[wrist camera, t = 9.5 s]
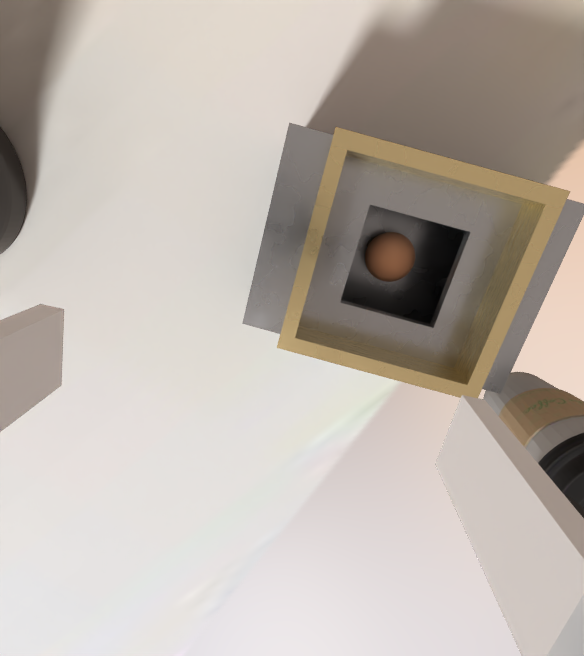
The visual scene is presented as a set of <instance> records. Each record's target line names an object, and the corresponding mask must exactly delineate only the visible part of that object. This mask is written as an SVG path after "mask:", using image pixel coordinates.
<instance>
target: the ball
mask: <svg viewBox="0 0 584 656" xmlns="http://www.w3.org/2000/svg"><path fill="white" fill-rule="evenodd" d="M414 262H415V250H414V247H413V245H412V243H411V242H410V240H409V239H408V238H407V237H405V236H404V235H402V234H400V233H396V232H386V233H383V234H380V235H378V236H377V237H375V238H374V239H373V240H372V241H371V242H370V243H369V245H368V247H367V249H366V252H365V263H366V267H367V269H368V270H369V272H370V273H371V274H372V275H373V276H374V277H375V278H377V279H379V280H381V281H385V282H392V281H397V280H399V279H402V278H403V277H405V276H406V275H407V274H408V273H409V272H410V271H411V269H412V267H413V265H414Z"/></svg>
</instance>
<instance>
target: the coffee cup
mask: <svg viewBox="0 0 584 656" xmlns="http://www.w3.org/2000/svg"><path fill="white" fill-rule="evenodd" d="M483 400H485V401H486V402H487V403H488V404H489V406H490V407H491V408H492V409H493V410H494V412H495V413H496V414H497V415H498V416H499V418H500V419H501V420H502V421H503V422H504V423H505V425H506V426H507V427H508V428H509V429H510V431H511V432H512V433H513V434H514V435H515V437H516V438H517V439H518V440H519V441H520V443H521V444H522V445H523V446H524V447H525V449H526V450H527V451H528V452H529V453H530V455H531V456H532V457H533V458H534V459H535V461H536V462H537V463H538V464H539V465H540V467H541V468H542V469H543V470H544V471H545V473H546V474H547V475H548V476H549V477H550V479H551V480H552V481H553V482H554V483H555V485H556V486H557V487H558V488H559V489H560V491H561V492H562V493H563V494H564V495H568V496H569V497H570V498H571V499H573V500H574V501H575V502H576V503H578V504H579V505H580V506H582V507H583V508H584V401H582V400H580V399H578V398H577V397H575V396H573V395H571V394H570V393H568V392H565V391H563V390H559V389H557V388H555V387H554V386H552V385H550V384H549V383H547V382H545V381H543V380H542V379H540V378H538V377H537V376H534V375H532V374H529V373H524V372H514V373H510V374H509V377H508V379H507V381H506V383H505V385H504V387H503V389H502V392H501V394H499V393H495V392H492V391H488V390H486V391H485V394H484V399H483Z"/></svg>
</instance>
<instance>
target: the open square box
mask: <svg viewBox="0 0 584 656" xmlns="http://www.w3.org/2000/svg"><path fill="white" fill-rule="evenodd" d="M569 193H570V191H567V190H563V189H560V188H556V187H552V186H549V185H545V184H542V183H538V182H534V181H531V180H527V179H523V178H520V177H516V176H512V175H509V174H505V173H502V172H498V171H494V170H491V169H487V168H483V167H480V166H476V165H473V164H469V163H465V162H462V161H458V160H454V159H451V158H447V157H443V156H440V155H436V154H433V153H429V152H425V151H422V150H418V149H414V148H411V147H407V146H403V145H400V144H396V143H393V142H389V141H385V140H382V139H378V138H374V137H371V136H367V135H364V134H360V133H356V132H353V131H349V130H345V129H342V128H338V127H335V131H334V135H332V134H329V133H325V132H321V131H318V130H314V129H310V128H307V127H303V126H300V125H296V124H292V123H289V127H288V131H287V135H286V140H285V144H284V148H283V153H282V157H281V161H280V165H279V170H278V174H277V178H276V182H275V187H274V191H273V195H272V200H271V204H270V208H269V212H268V217H267V221H266V225H265V229H264V234H263V238H262V242H261V247H260V251H259V255H258V259H257V264H256V268H255V272H254V277H253V281H252V285H251V289H250V294H249V298H248V302H247V306H246V311H245V315H244V319H243V324H246V325H250V326H253V327H257V328H261V329H264V330H268V331H272V332H275V333H279V334H280V338H279V341H278V345H277V348H280V349H284V350H287V351H291V352H295V353H298V354H302V355H306V356H309V357H313V358H317V359H320V360H324V361H328V362H331V363H335V364H339V365H342V366H346V367H350V368H353V369H357V370H361V371H364V372H368V373H372V374H375V375H379V376H383V377H386V378H390V379H394V380H397V381H401V382H405V383H408V384H412V385H416V386H419V387H423V388H427V389H430V390H435V391H438V392H442V393H445V394H449V395H453V396H456V397H460V398H461V396H462V395H465V396H469V397H474V398H478V396H479V394H480V392H481V390H482V389H484V390H488V391H492V392H495V393H499V394H501V392H502V389H503V387H504V385H505V383H506V381H507V379H508V377H509V374H510V372H511V370H512V368H513V366H514V364H515V361H516V359H517V357H518V355H519V353H520V351H521V348H522V346H523V344H524V342H525V340H526V338H527V336H528V334H529V331H530V329H531V327H532V325H533V323H534V320H535V318H536V316H537V314H538V312H539V310H540V308H541V305H542V303H543V301H544V299H545V297H546V295H547V293H548V291H549V288H550V286H551V284H552V282H553V280H554V278H555V275H556V273H557V271H558V269H559V267H560V265H561V262H562V260H563V258H564V256H565V254H566V252H567V250H568V247H569V245H570V243H571V241H572V239H573V237H574V234H575V232H576V230H577V228H578V226H579V224H580V222H581V220H582V217H583V215H584V204H583V203H579V202H575V201H572V200H568V199H567V197H568V195H569ZM386 232H396V233H400V234H402V235H404V236H405V237H407V238H408V239H409V240H410V242H411V243H412V245H413V247H414V250H415V262H414V265H413V267H412V269H411V271H410V272H409V273H408V274H407V275H406V276H405V277H403V278H402V279H399V280H397V281H392V282H385V281H381V280H379V279H377V278H375V277H374V276H373V275H372V274H371V273H370V272H369V270H368V269H367V267H366V263H365V252H366V249H367V247H368V245H369V243H370V242H371V241H372V240H373V239H374V238H375V237H377V236H378V235H380V234H383V233H386Z"/></svg>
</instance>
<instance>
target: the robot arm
mask: <svg viewBox="0 0 584 656" xmlns="http://www.w3.org/2000/svg"><path fill="white" fill-rule="evenodd" d="M25 210H26V186H25V179H24V175H23V171H22V168H21V164H20V162H19V159H18V157H17V154H16V152H15V150H14V148H13V146H12V144H11V143H10V141H9V139H8V138H7V136H6V135H5V133H4V132H3V131H2V129H1V128H0V254H1V253H3V252H4V251H5V250H6V249H7V248H8V247H9V246H10V245H11V244H12V242H13V241H14V240H15V238H16V237H17V235H18V233H19V231H20V229H21V226H22V223H23V220H24V216H25ZM63 326H64V309H61V308H56V307H51V306H47V305H42V304H39V305H37V306H35V307H32V308H30V309H27V310H25V311H22V312H20V313H17V314H15V315H12V316H10V317H7V318H5V319H2V320H0V432H1V431H2V430H4V429H5V428H6V427H7V426H9V425H10V424H11V423H13V422H14V421H15V420H17V419H18V418H19V417H21V416H22V415H23V414H25V413H26V412H27V411H28V410H30V409H31V408H32V407H34V406H35V405H36V404H38V403H39V402H40V401H42V400H43V399H44V398H46V397H47V396H48V395H49V394H51V393H52V392H53V391H55V390H56V389H57V388H59V387H60V386H61V385H62V355H63ZM435 465H436V467H437V470H438V472H439V474H440V476H441V478H442V481H443V483H444V485H445V487H446V489H447V492H448V493H449V496H450V498H451V500H452V503H453V505H454V507H455V509H456V512H457V514H458V516H459V518H460V521H461V523H462V525H463V527H464V529H465V532H466V534H467V536H468V538H469V540H470V542H471V545H472V547H473V549H474V551H475V553H476V556H477V558H478V560H479V562H480V565H481V567H482V569H483V571H484V574H485V576H486V578H487V580H488V582H489V584H490V587H491V589H492V591H493V593H494V596H495V598H496V600H497V602H498V605H499V607H500V609H501V611H502V613H503V616H504V618H505V620H506V622H507V625H508V627H509V629H510V631H511V633H512V636H513V638H514V640H515V642H516V644H517V647H518V649H519V651H520V653H521V655H522V656H584V508H583V507H582V506H580V505H579V504H578V503H576V502H575V501H574V500H573V499H571V498H570V497H569V496H568V495H564V494H563V493H562V492H561V491H560V489H559V488H558V487H557V486H556V485H555V483H554V482H553V481H552V480H551V479H550V477H549V476H548V475H547V474H546V473H545V471H544V470H543V469H542V468H541V467H540V465H539V464H538V463H537V462H536V461H535V459H534V458H533V457H532V456H531V455H530V453H529V452H528V451H527V450H526V449H525V447H524V446H523V445H522V444H521V443H520V441H519V440H518V439H517V438H516V437H515V435H514V434H513V433H512V432H511V431H510V429H509V428H508V427H507V426H506V425H505V423H504V422H503V421H502V420H501V419H500V418H499V416H498V415H497V414H496V413H495V412H494V410H493V409H492V408H491V407H490V406H489V404H488V403H487V402H486V401H485V400H483V399H478V398H474V397H469V396H465V395H462V396H461V399H460V401H459V404H458V407H457V409H456V412H455V414H454V417H453V420H452V422H451V425H450V427H449V430H448V433H447V435H446V438H445V440H444V443H443V446H442V448H441V451H440V453H439V456H438V458H437V461H436V464H435Z"/></svg>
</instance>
